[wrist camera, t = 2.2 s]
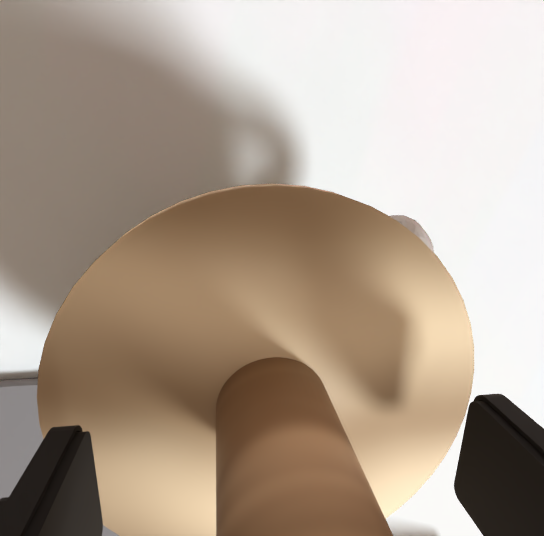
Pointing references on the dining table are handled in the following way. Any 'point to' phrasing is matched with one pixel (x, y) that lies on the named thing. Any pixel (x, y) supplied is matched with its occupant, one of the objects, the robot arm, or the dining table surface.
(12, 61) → the dining table surface
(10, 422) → the plate
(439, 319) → the lid
